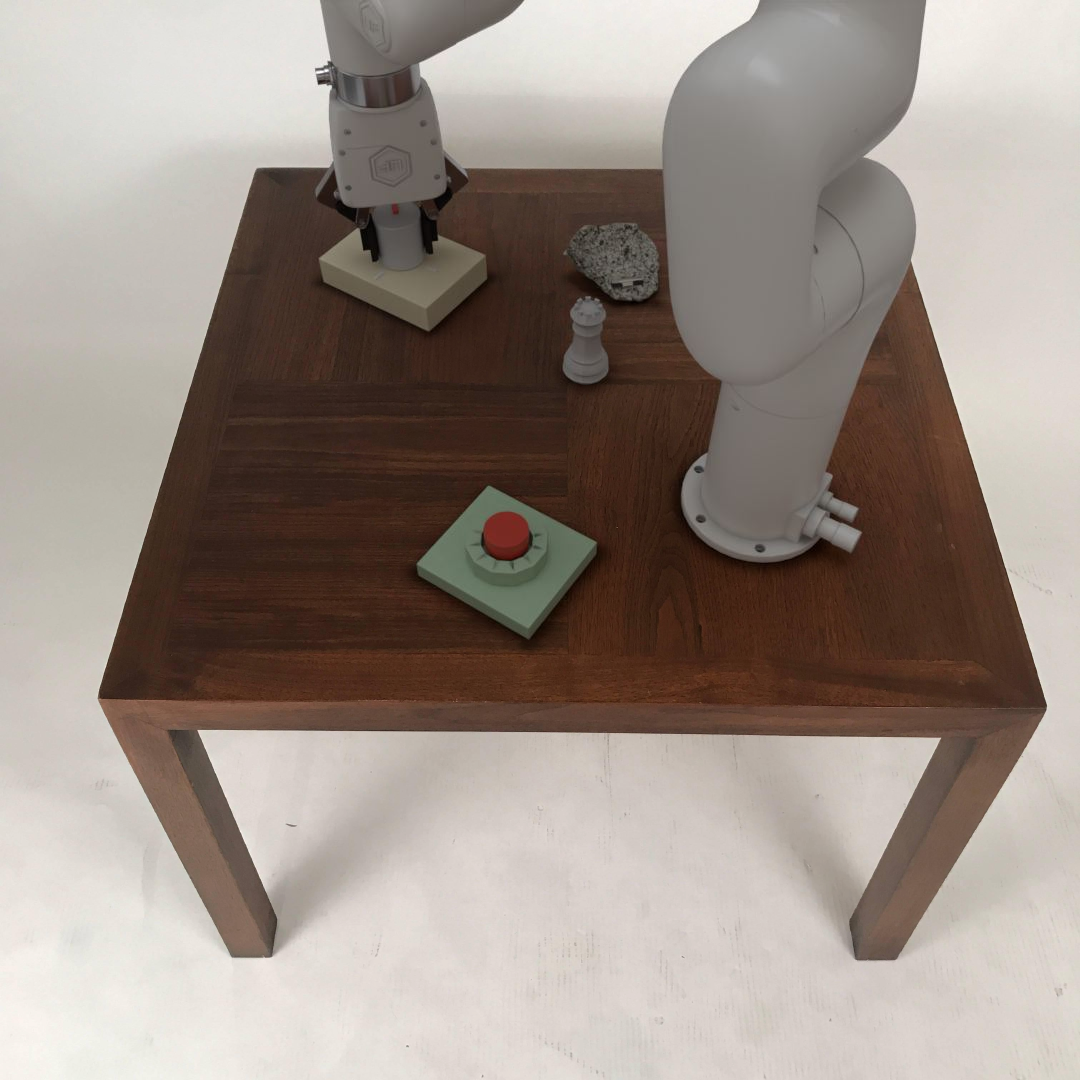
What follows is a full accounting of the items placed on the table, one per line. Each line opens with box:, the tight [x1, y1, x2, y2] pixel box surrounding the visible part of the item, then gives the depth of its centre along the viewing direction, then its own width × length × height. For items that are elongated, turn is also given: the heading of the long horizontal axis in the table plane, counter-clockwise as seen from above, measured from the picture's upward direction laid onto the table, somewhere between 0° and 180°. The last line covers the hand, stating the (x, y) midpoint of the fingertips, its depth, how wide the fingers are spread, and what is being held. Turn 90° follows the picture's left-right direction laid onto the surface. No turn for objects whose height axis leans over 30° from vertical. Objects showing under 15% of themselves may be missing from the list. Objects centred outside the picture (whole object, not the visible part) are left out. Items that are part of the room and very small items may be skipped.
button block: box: [416, 485, 598, 640], centre depth 80 cm, size 11×10×4 cm
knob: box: [371, 202, 426, 271], centre depth 99 cm, size 5×5×5 cm
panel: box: [318, 227, 488, 332], centre depth 102 cm, size 14×10×3 cm
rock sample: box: [563, 221, 661, 303], centre depth 101 cm, size 10×8×9 cm
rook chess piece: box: [562, 295, 609, 385], centre depth 92 cm, size 4×4×8 cm
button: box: [483, 511, 529, 560], centre depth 78 cm, size 4×4×2 cm
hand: (401, 248), depth 100 cm, fingers closed on knob, 4 cm apart
